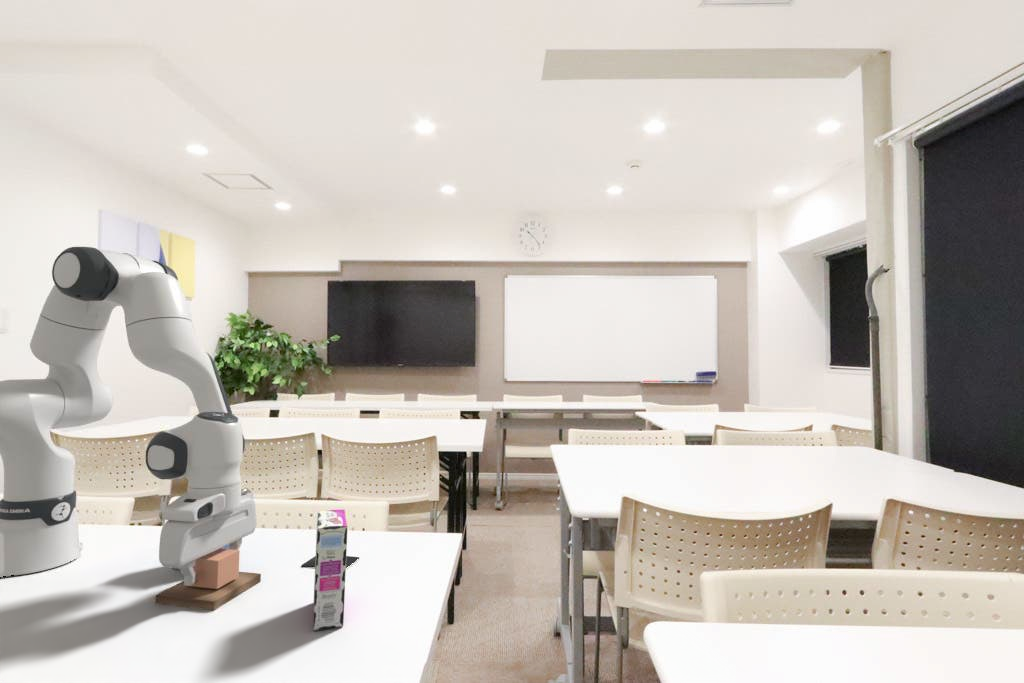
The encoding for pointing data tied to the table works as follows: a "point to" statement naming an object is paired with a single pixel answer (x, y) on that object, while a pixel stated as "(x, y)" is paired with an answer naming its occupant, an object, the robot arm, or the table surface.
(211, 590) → the base
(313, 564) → the solid state drive
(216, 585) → the salmon rectangular block
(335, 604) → the candy bar box
